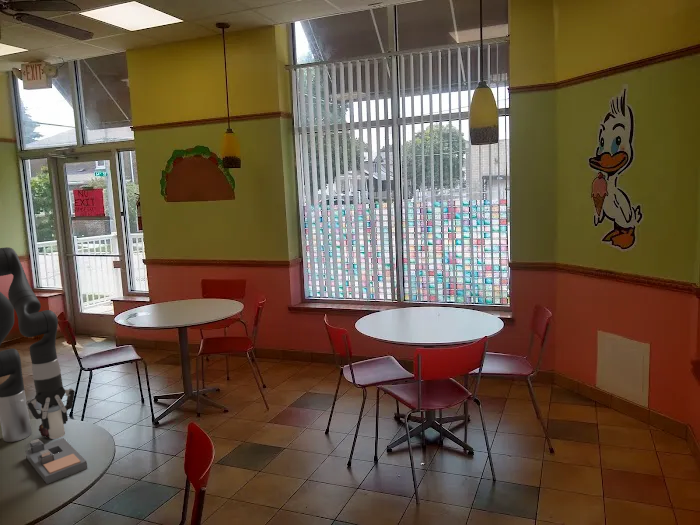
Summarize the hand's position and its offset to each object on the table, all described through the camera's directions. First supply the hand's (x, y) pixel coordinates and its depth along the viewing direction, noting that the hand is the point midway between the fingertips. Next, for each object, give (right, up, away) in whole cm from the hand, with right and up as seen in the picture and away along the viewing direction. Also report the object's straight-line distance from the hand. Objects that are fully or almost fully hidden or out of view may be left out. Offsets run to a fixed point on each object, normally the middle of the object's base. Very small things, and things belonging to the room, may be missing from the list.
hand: (55, 425), depth 174 cm
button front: (-6, -13, +5) cm, 15 cm away
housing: (-4, -15, +8) cm, 17 cm away
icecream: (-17, -13, +29) cm, 36 cm away
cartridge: (0, -3, 0) cm, 3 cm away
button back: (-14, -12, +14) cm, 23 cm away
